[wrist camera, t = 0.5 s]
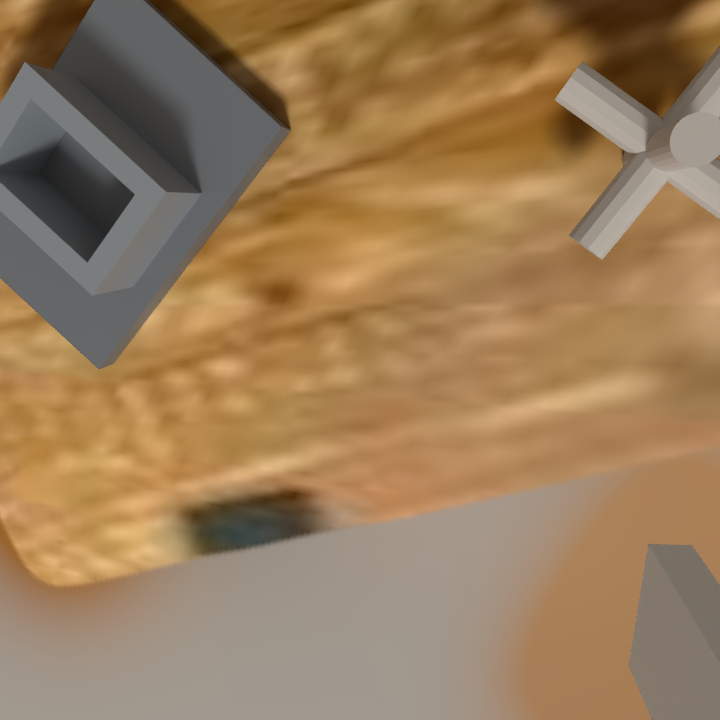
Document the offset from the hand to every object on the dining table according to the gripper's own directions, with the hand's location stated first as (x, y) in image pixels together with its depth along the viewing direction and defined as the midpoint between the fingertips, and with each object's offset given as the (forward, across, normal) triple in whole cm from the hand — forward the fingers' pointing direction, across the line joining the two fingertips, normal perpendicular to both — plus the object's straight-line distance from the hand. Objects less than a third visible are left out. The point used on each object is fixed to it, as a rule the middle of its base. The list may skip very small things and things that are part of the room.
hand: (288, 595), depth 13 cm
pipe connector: (+25, +14, +7) cm, 29 cm away
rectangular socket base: (+29, -14, +5) cm, 33 cm away
